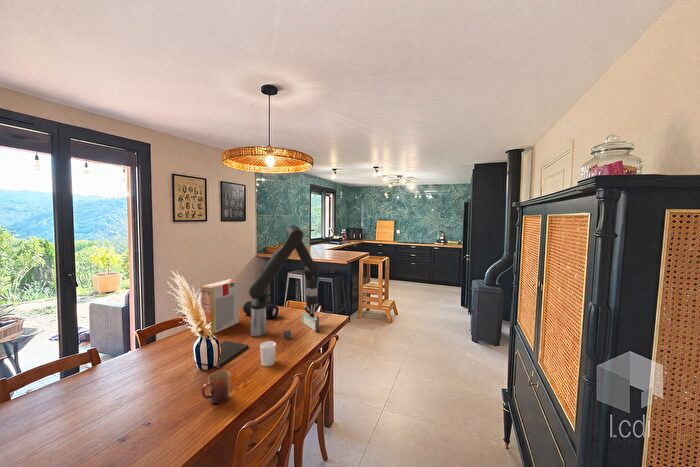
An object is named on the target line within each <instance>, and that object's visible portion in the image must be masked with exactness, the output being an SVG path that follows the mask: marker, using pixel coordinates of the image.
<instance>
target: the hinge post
mask: <svg viewBox="0 0 700 467" xmlns="http://www.w3.org/2000/svg"><path fill="white" fill-rule="evenodd" d="M314 319H315V330H314V333H317V334H319V333H320V316H315V318H314Z"/></svg>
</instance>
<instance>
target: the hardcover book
mask: <svg viewBox="0 0 700 467" xmlns="http://www.w3.org/2000/svg"><path fill="white" fill-rule="evenodd" d="M219 344H220V347H221V354H220V360H219V363H218V364H217V367H218V369H220V368H222V367H223V366H224V365H226V364H227V363H229V362H230V361H232V360H233V359H235V358H236V357H237V356H239V355H241V354H242V353H243V352H244V351H246V350H248V349H249V344H247V343H246V344H245V343H241V342H236V341H230V340H225V341H223V342H221V343H219ZM222 365H223V366H222ZM217 367H216V368H217Z"/></svg>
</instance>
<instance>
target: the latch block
mask: <svg viewBox="0 0 700 467" xmlns="http://www.w3.org/2000/svg"><path fill="white" fill-rule="evenodd" d="M291 331H292V330H291V329H289V328H287V329H283V334H282V335H283V340H291V338H292V337H291V336H292V334H291Z"/></svg>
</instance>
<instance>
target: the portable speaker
mask: <svg viewBox="0 0 700 467" xmlns="http://www.w3.org/2000/svg"><path fill="white" fill-rule="evenodd" d="M251 302H252V300H251V301H247V302H246V301H245V303H244V305H243V306H242V309H243V313H245V314H246V315H247V316H251ZM279 311H280V310H279V307H278V305H276V304H272V303H266V319H274V318H276V317H277V316H278V315H279Z"/></svg>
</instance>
